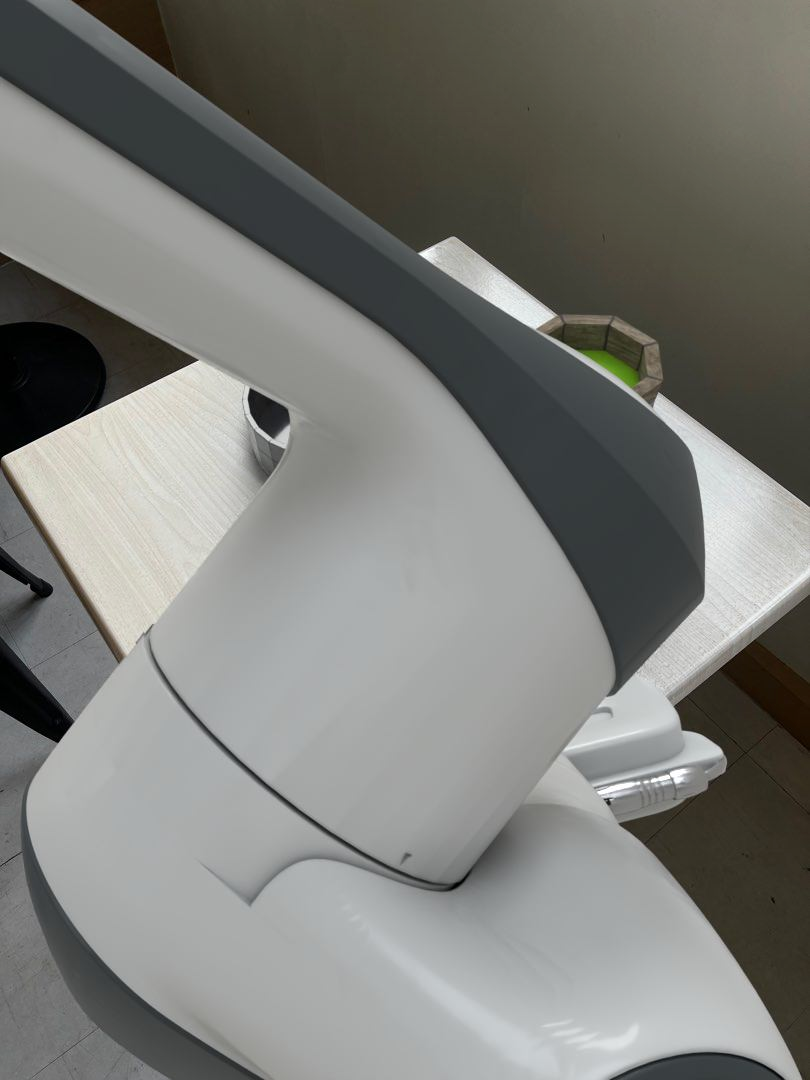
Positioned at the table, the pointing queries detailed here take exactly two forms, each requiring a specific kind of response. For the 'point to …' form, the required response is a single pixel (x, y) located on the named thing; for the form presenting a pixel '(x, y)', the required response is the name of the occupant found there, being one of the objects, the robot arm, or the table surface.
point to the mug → (612, 349)
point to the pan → (266, 428)
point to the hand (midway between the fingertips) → (417, 720)
